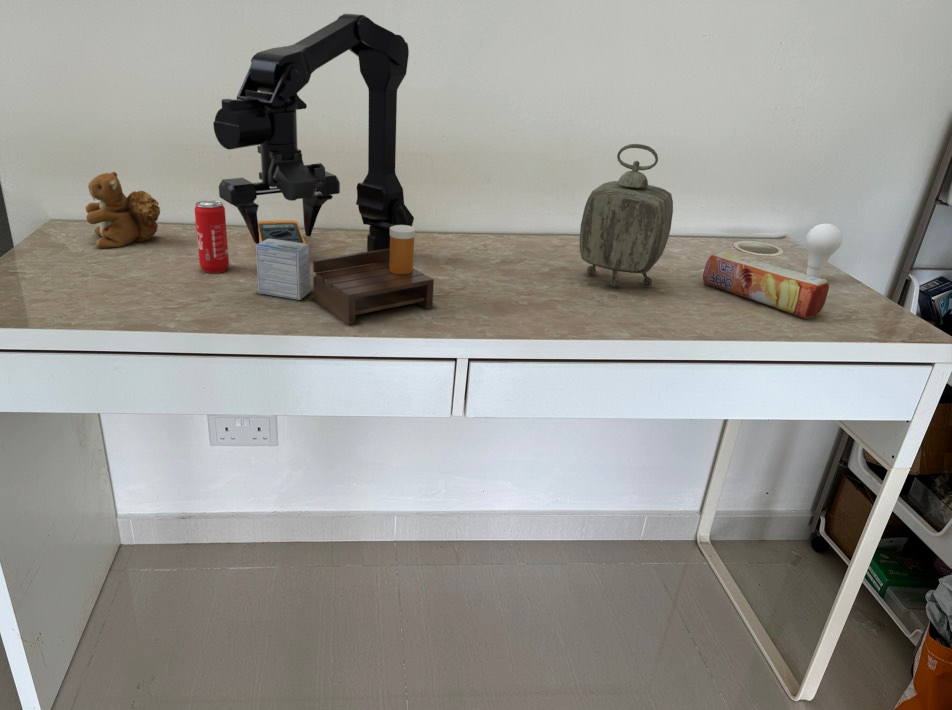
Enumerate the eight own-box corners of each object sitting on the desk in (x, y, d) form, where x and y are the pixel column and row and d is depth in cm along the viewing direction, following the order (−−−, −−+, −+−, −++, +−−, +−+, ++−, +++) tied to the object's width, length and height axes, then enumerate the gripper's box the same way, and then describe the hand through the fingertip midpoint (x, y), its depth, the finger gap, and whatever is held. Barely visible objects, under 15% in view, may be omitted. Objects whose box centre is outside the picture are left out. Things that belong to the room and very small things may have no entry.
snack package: (697, 285, 144) (705, 250, 141) (718, 279, 148) (726, 245, 145) (804, 323, 130) (815, 285, 126) (824, 315, 133) (836, 278, 130)
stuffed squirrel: (92, 234, 156) (82, 167, 150) (165, 232, 159) (158, 167, 153) (87, 249, 148) (75, 179, 141) (163, 246, 151) (155, 178, 145)
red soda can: (222, 275, 138) (216, 208, 132) (195, 272, 139) (188, 205, 133) (233, 266, 143) (229, 201, 137) (207, 263, 143) (201, 198, 138)
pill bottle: (404, 265, 132) (406, 223, 128) (418, 272, 129) (420, 230, 125) (383, 268, 130) (384, 226, 126) (397, 276, 127) (398, 233, 123)
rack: (394, 285, 137) (395, 247, 134) (432, 307, 129) (434, 267, 125) (313, 300, 129) (312, 260, 126) (348, 324, 121) (348, 282, 117)
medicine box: (311, 292, 132) (310, 243, 128) (299, 301, 129) (298, 251, 125) (270, 286, 134) (268, 237, 130) (257, 294, 131) (254, 244, 127)
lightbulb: (828, 277, 152) (846, 222, 146) (829, 287, 147) (847, 230, 141) (795, 272, 154) (811, 217, 148) (794, 281, 149) (811, 225, 144)
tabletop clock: (659, 285, 144) (687, 146, 131) (647, 299, 136) (677, 154, 124) (583, 270, 149) (604, 135, 137) (569, 283, 142) (590, 143, 130)
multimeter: (262, 264, 145) (261, 246, 143) (256, 236, 160) (255, 219, 158) (307, 262, 146) (307, 244, 145) (298, 235, 162) (297, 218, 160)
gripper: (242, 155, 109) (249, 261, 117) (356, 146, 118) (356, 245, 126) (213, 141, 117) (221, 241, 125) (323, 134, 126) (324, 227, 134)
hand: (282, 239), depth 127 cm, fingers open, 9 cm apart
